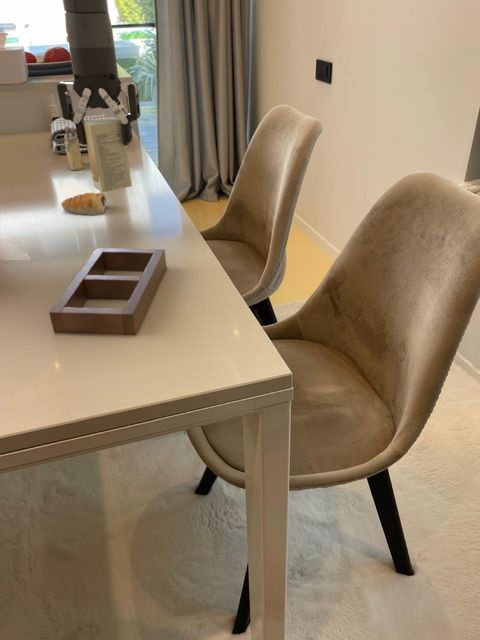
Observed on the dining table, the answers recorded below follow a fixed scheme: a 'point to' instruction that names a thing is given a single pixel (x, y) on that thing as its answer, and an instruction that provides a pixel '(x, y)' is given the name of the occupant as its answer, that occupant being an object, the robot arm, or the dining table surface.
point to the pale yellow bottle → (73, 149)
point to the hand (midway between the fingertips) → (106, 144)
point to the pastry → (86, 204)
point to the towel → (60, 127)
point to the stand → (110, 292)
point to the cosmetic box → (107, 154)
